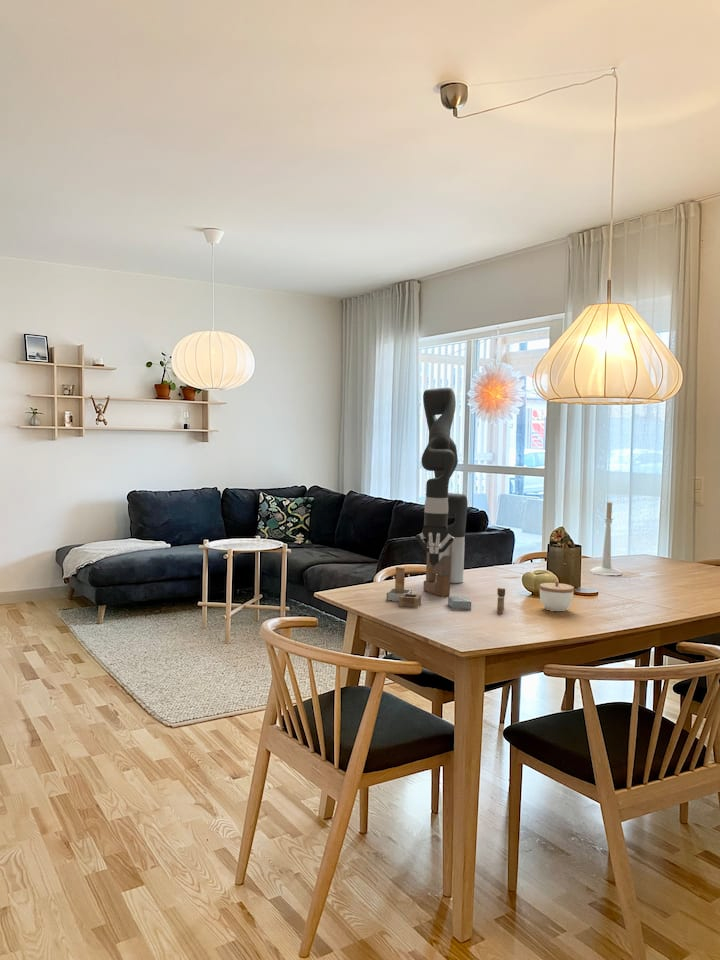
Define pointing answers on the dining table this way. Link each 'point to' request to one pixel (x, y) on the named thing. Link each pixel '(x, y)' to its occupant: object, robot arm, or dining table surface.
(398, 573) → the dowel
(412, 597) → the socket block
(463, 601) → the grey rectangular block
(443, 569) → the tan angled wooden part
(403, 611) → the dining table surface
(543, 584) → the lidded jar
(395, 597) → the tray
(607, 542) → the candlestick
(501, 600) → the block
